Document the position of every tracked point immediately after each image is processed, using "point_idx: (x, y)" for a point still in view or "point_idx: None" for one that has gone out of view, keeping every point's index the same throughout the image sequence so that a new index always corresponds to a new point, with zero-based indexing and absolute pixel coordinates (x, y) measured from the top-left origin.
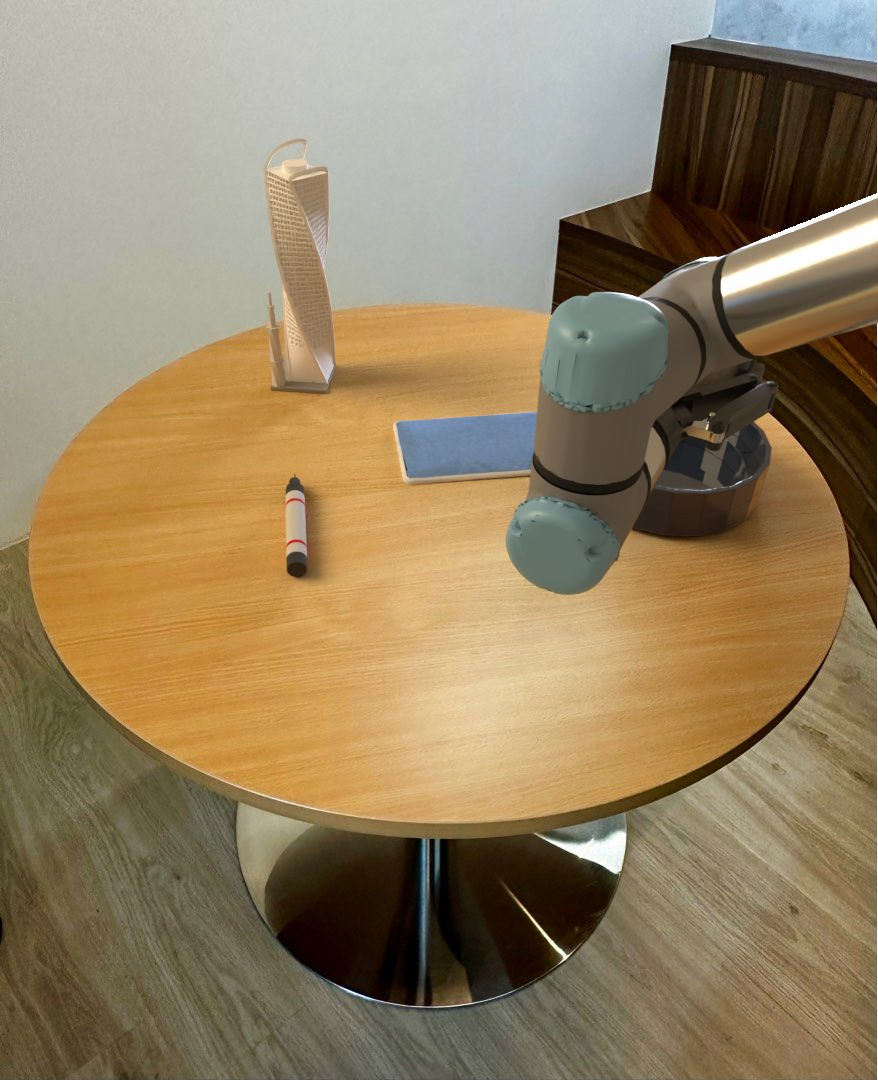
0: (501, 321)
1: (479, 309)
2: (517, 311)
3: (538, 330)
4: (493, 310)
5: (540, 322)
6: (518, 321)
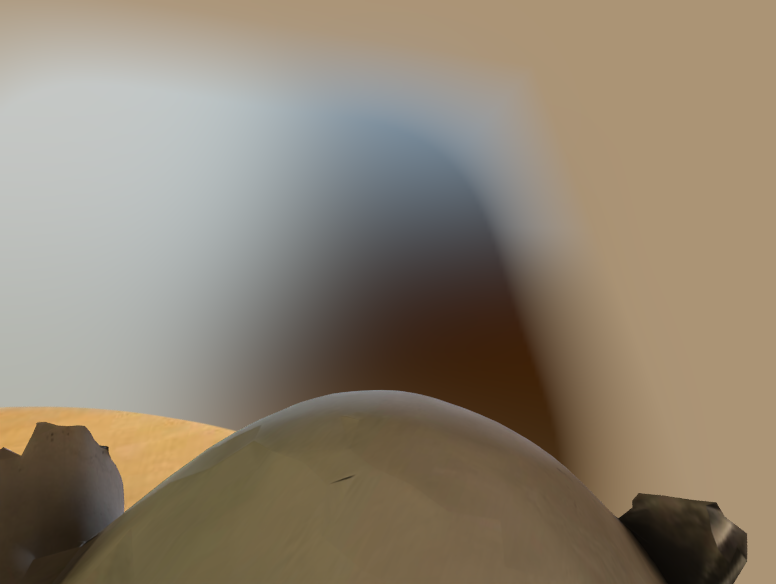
0: (33, 429)
1: (3, 411)
2: (73, 408)
3: (96, 437)
4: (29, 410)
5: (105, 422)
6: (66, 425)
